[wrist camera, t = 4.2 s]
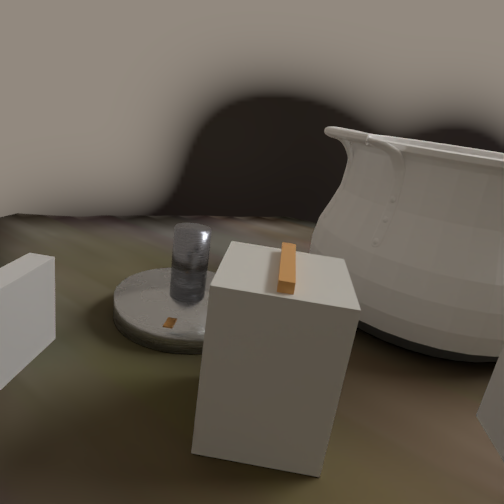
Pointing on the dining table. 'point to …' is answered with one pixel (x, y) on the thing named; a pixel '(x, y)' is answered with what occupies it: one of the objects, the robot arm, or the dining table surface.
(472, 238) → the pot
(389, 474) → the dining table surface
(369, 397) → the dining table surface
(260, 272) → the box with orange strip
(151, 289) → the hub plate
